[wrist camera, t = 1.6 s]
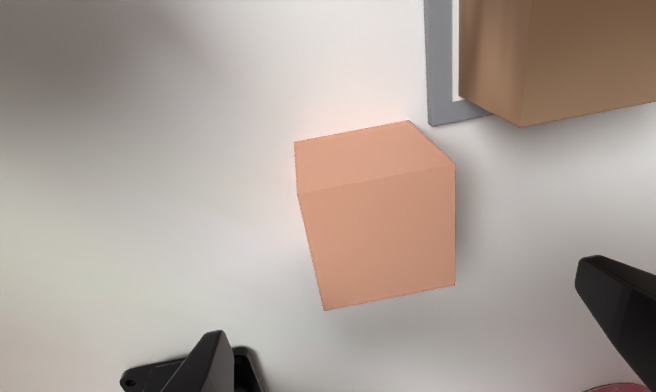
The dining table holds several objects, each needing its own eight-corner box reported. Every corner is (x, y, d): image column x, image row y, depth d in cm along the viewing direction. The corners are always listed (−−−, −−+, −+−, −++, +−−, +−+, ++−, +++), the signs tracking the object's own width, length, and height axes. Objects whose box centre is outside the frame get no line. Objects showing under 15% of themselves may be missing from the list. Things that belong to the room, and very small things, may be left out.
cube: (413, 217, 16) (454, 284, 12) (314, 236, 16) (324, 310, 12) (407, 119, 14) (455, 163, 10) (293, 141, 14) (297, 194, 10)
